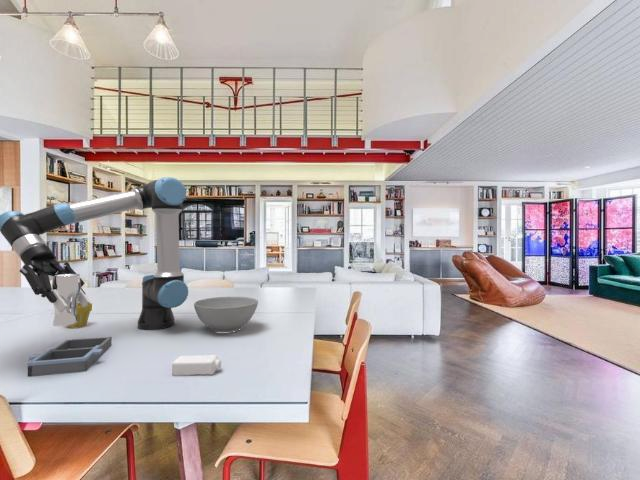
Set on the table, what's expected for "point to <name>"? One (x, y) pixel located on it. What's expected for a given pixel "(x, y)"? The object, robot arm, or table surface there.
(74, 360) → the open frame
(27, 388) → the table surface
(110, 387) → the table surface
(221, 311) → the decorative bowl
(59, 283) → the drinking glass
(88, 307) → the yellow bowl
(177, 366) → the white bottle
